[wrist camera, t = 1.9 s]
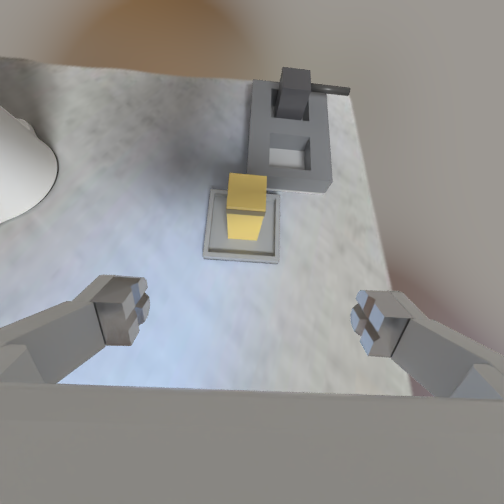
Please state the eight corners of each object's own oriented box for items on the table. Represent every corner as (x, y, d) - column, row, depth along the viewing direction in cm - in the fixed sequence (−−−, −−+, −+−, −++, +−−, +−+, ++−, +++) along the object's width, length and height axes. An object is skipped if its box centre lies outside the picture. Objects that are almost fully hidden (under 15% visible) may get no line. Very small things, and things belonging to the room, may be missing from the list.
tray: (203, 259, 32) (202, 256, 30) (211, 194, 35) (210, 188, 33) (277, 263, 32) (279, 261, 31) (278, 199, 35) (280, 194, 34)
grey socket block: (245, 188, 35) (249, 153, 28) (251, 99, 41) (255, 51, 34) (336, 196, 36) (361, 163, 29) (329, 108, 42) (349, 63, 35)
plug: (227, 238, 32) (225, 206, 24) (229, 212, 33) (229, 172, 25) (257, 241, 32) (266, 209, 24) (258, 214, 34) (267, 175, 25)
